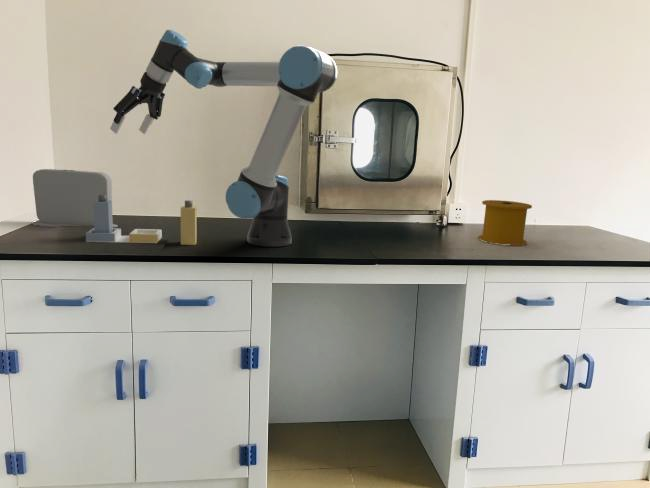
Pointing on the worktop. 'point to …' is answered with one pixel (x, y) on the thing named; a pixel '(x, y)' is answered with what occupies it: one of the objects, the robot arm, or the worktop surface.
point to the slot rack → (133, 237)
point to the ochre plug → (188, 224)
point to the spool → (504, 222)
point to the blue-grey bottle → (103, 215)
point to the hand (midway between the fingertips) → (128, 131)
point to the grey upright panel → (68, 196)
